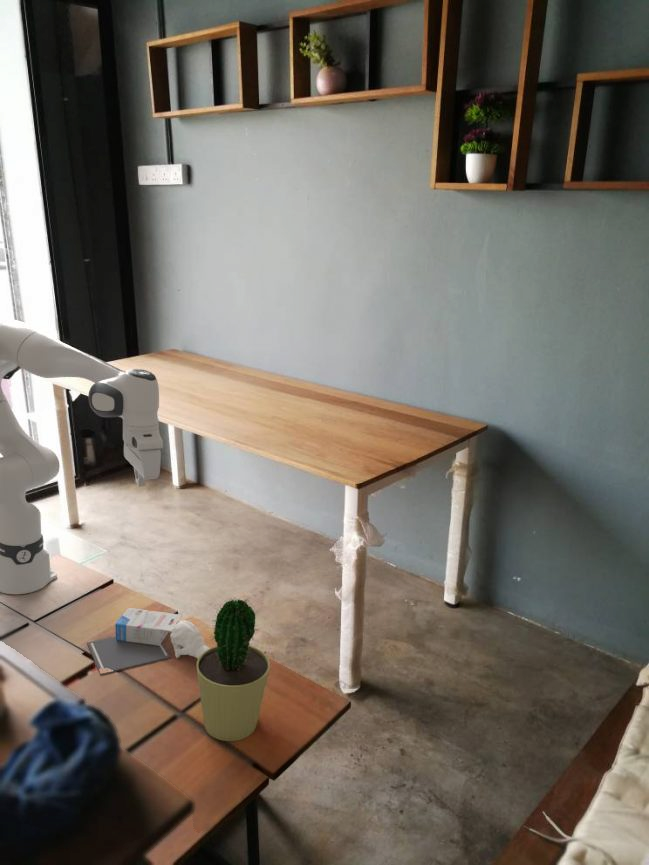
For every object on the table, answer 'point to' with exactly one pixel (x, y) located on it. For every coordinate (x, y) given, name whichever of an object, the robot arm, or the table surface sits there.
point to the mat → (125, 653)
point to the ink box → (145, 626)
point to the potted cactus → (232, 675)
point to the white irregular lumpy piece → (187, 640)
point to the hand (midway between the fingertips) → (140, 484)
